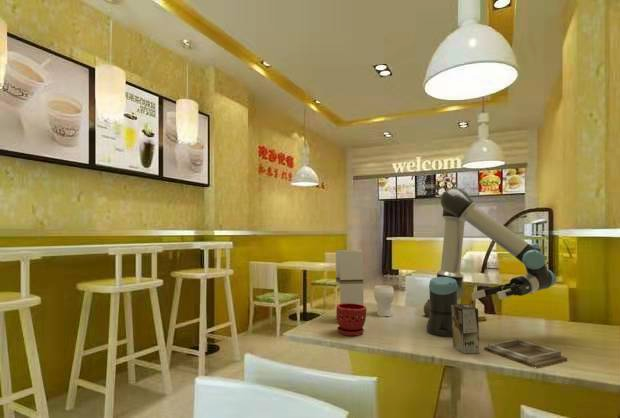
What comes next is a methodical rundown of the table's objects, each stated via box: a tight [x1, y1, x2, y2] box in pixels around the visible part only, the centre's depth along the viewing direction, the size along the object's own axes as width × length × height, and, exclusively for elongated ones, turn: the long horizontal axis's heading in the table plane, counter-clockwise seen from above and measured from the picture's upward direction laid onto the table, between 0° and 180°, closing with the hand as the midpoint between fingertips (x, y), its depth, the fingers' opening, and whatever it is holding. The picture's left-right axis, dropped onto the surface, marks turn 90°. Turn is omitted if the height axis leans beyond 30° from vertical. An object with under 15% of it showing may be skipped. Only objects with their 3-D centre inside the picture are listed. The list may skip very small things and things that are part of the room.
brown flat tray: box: [483, 338, 568, 369], centre depth 127 cm, size 20×16×2 cm
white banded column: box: [335, 249, 364, 320], centre depth 179 cm, size 11×11×35 cm
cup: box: [373, 285, 395, 317], centre depth 190 cm, size 11×11×15 cm
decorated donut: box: [478, 310, 487, 322], centre depth 181 cm, size 10×11×4 cm
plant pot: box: [336, 303, 367, 336], centre depth 157 cm, size 13×13×12 cm
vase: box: [423, 298, 430, 318], centre depth 186 cm, size 7×7×9 cm
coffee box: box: [451, 303, 480, 354], centre depth 134 cm, size 9×6×16 cm
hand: (484, 296), depth 141 cm, fingers open, 13 cm apart
